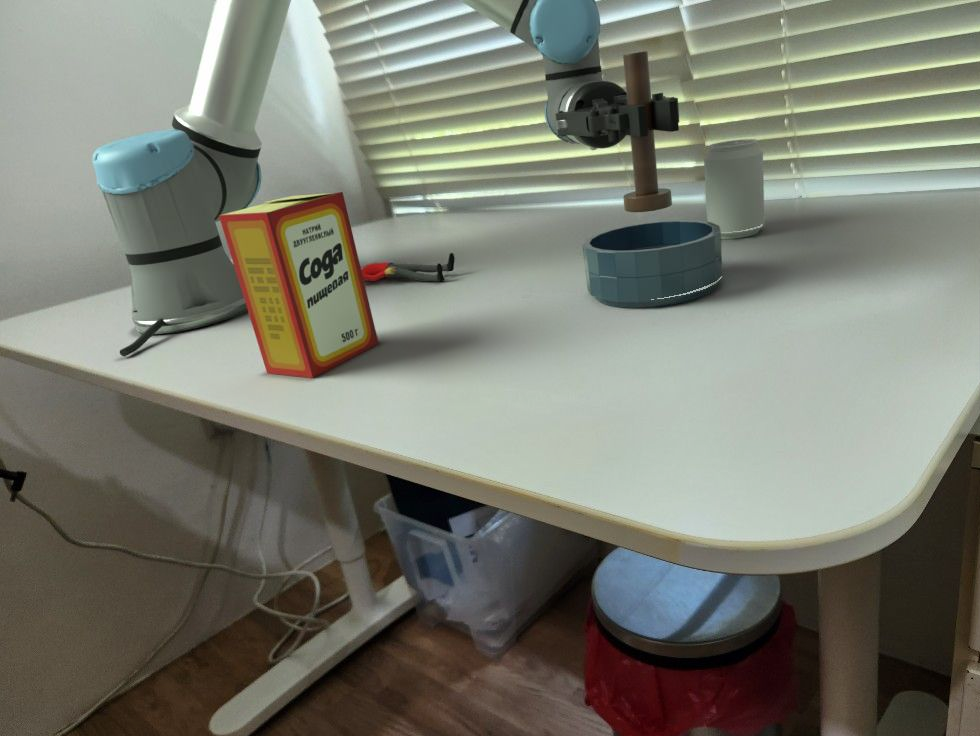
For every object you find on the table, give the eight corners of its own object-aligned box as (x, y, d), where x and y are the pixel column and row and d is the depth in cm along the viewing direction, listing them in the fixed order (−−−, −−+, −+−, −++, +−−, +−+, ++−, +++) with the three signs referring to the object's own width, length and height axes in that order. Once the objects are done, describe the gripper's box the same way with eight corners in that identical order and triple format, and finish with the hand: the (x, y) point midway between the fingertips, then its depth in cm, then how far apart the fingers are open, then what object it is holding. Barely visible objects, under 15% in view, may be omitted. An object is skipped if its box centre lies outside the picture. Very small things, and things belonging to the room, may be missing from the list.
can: (700, 233, 105) (695, 144, 100) (752, 224, 105) (750, 135, 101) (718, 243, 98) (713, 148, 94) (773, 233, 99) (771, 138, 94)
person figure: (434, 250, 98) (329, 254, 106) (434, 281, 98) (330, 282, 106) (455, 253, 102) (353, 256, 110) (456, 282, 103) (354, 283, 111)
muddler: (671, 208, 77) (660, 48, 71) (622, 214, 78) (607, 57, 72) (672, 200, 81) (661, 48, 75) (626, 205, 82) (612, 56, 76)
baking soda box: (312, 378, 71) (265, 208, 65) (267, 373, 75) (217, 211, 68) (378, 343, 79) (341, 187, 72) (334, 340, 82) (295, 191, 75)
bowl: (725, 303, 75) (722, 243, 72) (581, 314, 78) (574, 258, 75) (720, 266, 88) (717, 214, 85) (596, 277, 91) (591, 228, 88)
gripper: (658, 136, 95) (736, 146, 73) (539, 156, 93) (584, 173, 71) (653, 72, 92) (733, 63, 70) (530, 91, 90) (574, 88, 68)
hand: (658, 118), depth 71 cm, fingers closed on muddler, 2 cm apart
